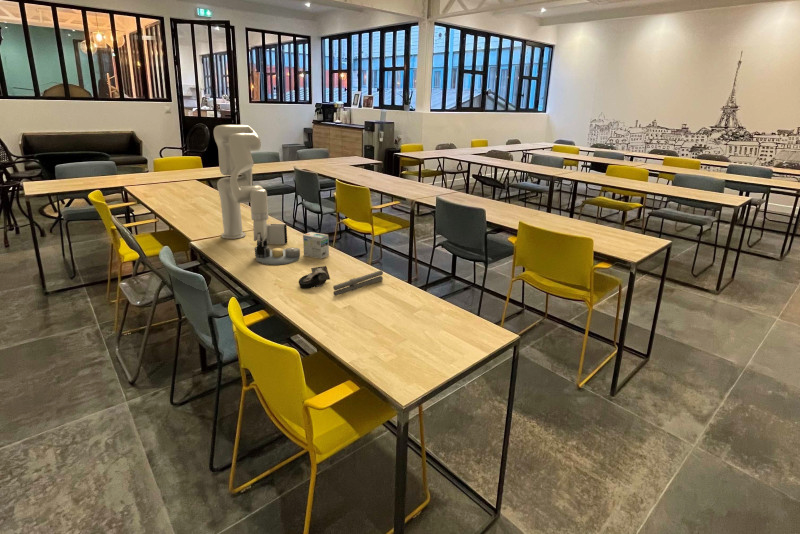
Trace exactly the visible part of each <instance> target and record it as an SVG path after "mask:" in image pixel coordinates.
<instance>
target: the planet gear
mask: <svg viewBox="0 0 800 534" xmlns="http://www.w3.org/2000/svg"><path fill="white" fill-rule="evenodd" d="M270 250H271V247H270V246H268V245H267V246H264V253H265V254H264V255H257V246H255V247H254V257H255V258H256V257H257V258H263V257H264V258H267V257H269V256H270Z"/></svg>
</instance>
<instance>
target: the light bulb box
mask: <svg viewBox="0 0 800 534" xmlns="http://www.w3.org/2000/svg"><path fill="white" fill-rule="evenodd" d="M302 240H303V241H302V242H303V244H302V245H303V256H306V257H310V258H315V259H320V260H322V259H324V258H327V257H328V256H330V253H329V252H330V251H329V250H330V249H329V248H330V247H329V246H330V244H329V234H324V233H318V232H313V231H310V232H309V231H308V232H307V233H304V234H303V235H302Z"/></svg>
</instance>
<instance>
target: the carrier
mask: <svg viewBox="0 0 800 534" xmlns="http://www.w3.org/2000/svg"><path fill="white" fill-rule="evenodd" d="M300 256H301V249H300V248H298V247H287V248H284V249H283V248H282V247H281V248H280V247H275V248H272V249H270V256H269V257H267V258H264V257H263V258H257V257H255V260H256V261H257V262H258V263H259V262H260V263H259V264H262V263H263V264H262V265H267V264H268V265H269V266H279V265H282V264H283V265H288V264H292V263H295V262H296V261H298V260H299V259H300Z"/></svg>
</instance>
